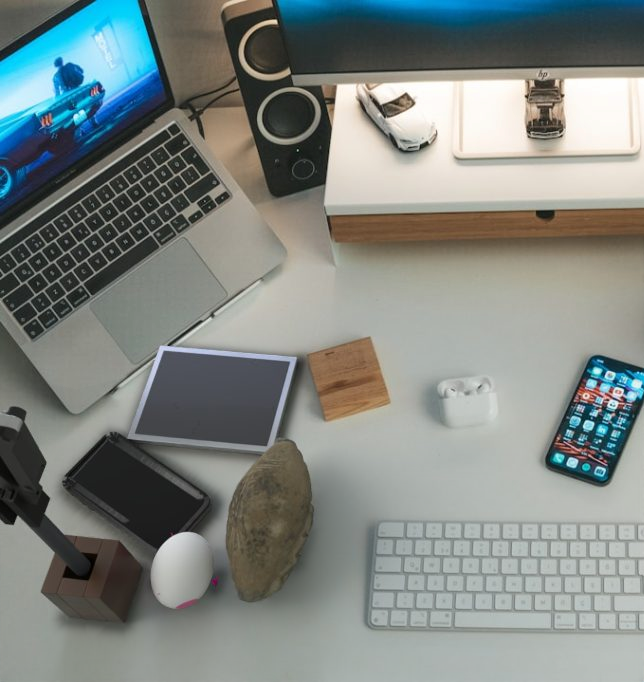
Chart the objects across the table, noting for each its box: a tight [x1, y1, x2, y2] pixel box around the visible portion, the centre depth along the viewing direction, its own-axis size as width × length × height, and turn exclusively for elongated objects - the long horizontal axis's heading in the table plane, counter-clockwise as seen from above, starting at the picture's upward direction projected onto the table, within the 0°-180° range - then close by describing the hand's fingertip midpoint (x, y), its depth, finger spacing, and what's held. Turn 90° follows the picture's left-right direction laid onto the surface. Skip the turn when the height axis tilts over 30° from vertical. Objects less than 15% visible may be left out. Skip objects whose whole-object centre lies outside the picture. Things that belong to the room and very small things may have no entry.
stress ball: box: [150, 531, 218, 610], centre depth 106 cm, size 8×8×7 cm
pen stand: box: [39, 533, 143, 624], centre depth 105 cm, size 6×6×7 cm
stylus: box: [4, 501, 91, 576], centre depth 94 cm, size 2×2×22 cm
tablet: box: [126, 345, 299, 456], centre depth 119 cm, size 16×12×1 cm
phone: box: [61, 431, 213, 557], centre depth 113 cm, size 8×1×15 cm
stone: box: [225, 437, 315, 604], centre depth 107 cm, size 17×9×8 cm, turn 179°
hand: (27, 511), depth 92 cm, fingers closed on stylus, 1 cm apart
